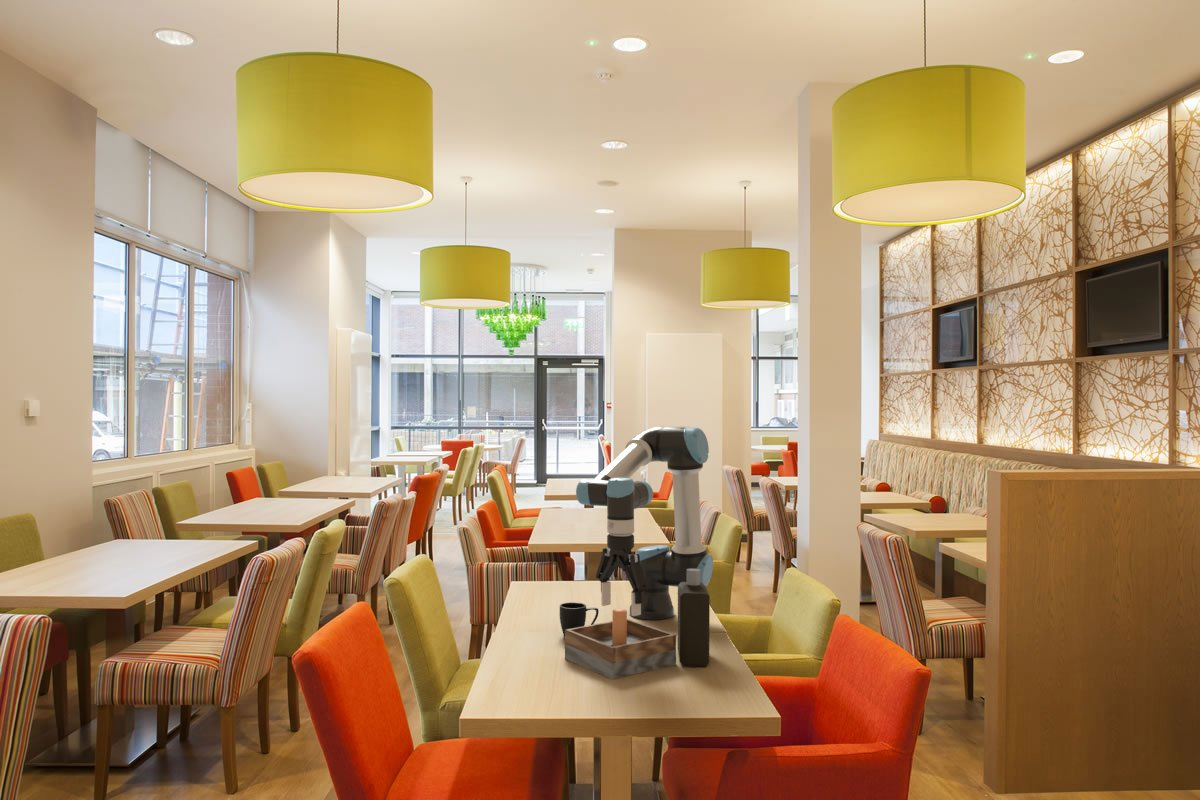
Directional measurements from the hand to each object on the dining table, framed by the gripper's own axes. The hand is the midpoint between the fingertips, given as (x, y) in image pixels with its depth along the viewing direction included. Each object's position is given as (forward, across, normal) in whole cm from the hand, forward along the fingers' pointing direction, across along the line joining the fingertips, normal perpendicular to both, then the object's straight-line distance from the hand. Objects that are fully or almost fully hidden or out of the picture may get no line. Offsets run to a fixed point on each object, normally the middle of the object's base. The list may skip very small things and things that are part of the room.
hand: (620, 610), depth 229 cm
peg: (+14, 0, -1) cm, 14 cm away
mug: (+15, -27, +4) cm, 31 cm away
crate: (+14, 0, -1) cm, 14 cm away
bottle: (+14, +10, +18) cm, 25 cm away
